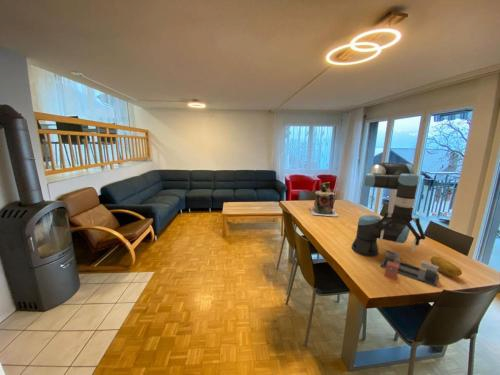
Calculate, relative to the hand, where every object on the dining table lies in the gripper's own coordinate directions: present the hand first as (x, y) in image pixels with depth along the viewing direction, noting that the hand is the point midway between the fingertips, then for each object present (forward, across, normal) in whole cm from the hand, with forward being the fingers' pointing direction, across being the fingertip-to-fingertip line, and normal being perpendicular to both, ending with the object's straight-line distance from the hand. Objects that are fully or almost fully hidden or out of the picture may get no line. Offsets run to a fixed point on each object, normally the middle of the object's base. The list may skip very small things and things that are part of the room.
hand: (396, 245), depth 105 cm
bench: (+17, +6, +12) cm, 22 cm away
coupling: (+17, 0, 0) cm, 17 cm away
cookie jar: (+17, -71, +75) cm, 105 cm away
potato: (+17, +20, +25) cm, 37 cm away
